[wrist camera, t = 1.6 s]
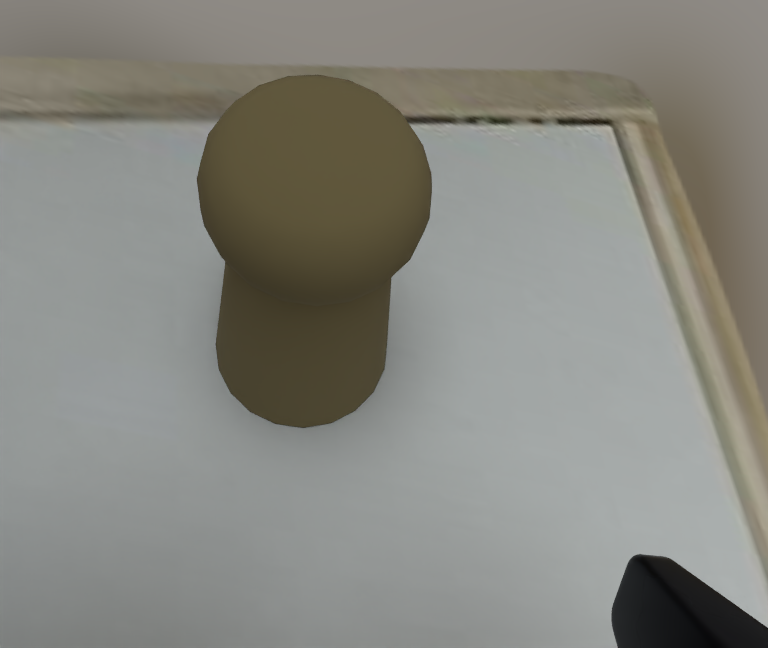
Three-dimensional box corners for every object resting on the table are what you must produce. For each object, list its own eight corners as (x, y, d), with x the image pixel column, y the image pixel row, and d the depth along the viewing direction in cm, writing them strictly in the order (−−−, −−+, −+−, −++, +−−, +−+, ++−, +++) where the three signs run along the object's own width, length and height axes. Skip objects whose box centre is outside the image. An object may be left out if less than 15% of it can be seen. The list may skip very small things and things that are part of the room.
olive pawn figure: (361, 449, 22) (431, 311, 12) (188, 397, 22) (111, 214, 12) (404, 297, 24) (491, 79, 14) (250, 250, 24) (230, -4, 14)
